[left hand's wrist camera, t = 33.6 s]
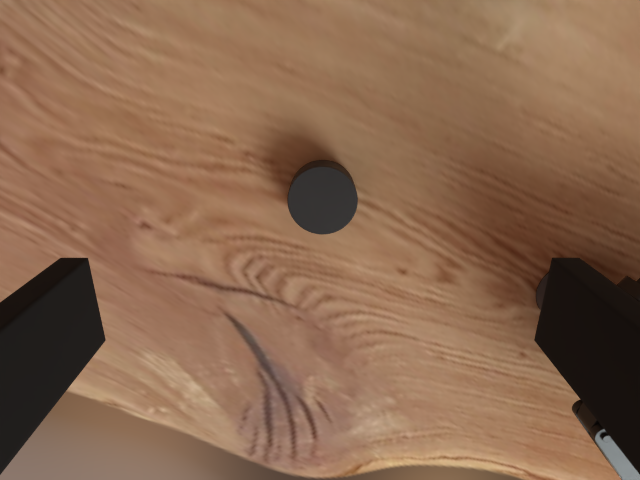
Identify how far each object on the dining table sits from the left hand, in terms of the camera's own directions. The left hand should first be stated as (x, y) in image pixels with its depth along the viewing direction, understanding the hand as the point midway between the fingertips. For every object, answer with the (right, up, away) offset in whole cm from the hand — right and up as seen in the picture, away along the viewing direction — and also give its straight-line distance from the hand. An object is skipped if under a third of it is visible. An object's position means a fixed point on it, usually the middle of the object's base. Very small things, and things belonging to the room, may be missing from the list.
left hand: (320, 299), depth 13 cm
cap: (0, +4, +13) cm, 14 cm away
